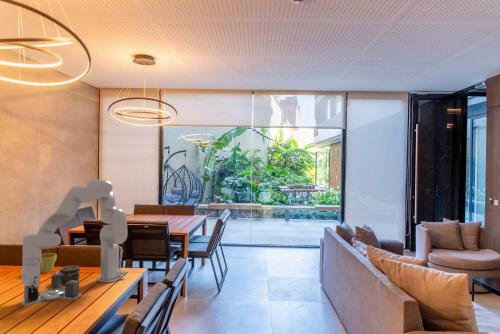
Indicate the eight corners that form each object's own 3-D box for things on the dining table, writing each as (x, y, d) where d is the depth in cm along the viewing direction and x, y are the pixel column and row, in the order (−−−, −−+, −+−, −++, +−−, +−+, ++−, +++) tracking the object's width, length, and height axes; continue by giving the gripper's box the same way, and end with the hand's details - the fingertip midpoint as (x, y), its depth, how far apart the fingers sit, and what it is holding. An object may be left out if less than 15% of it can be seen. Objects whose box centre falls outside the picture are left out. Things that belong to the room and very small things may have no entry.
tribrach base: (84, 283, 180) (84, 278, 180) (80, 299, 159) (80, 293, 159) (29, 289, 170) (29, 284, 170) (18, 307, 149) (18, 301, 149)
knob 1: (34, 297, 157) (34, 283, 157) (38, 299, 155) (38, 285, 155) (23, 300, 154) (23, 285, 154) (27, 302, 151) (27, 288, 151)
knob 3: (64, 296, 159) (65, 282, 159) (70, 292, 164) (71, 279, 164) (73, 296, 159) (73, 282, 159) (79, 293, 163) (79, 279, 163)
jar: (76, 283, 179) (76, 270, 179) (56, 285, 177) (57, 271, 177) (81, 277, 189) (81, 264, 189) (62, 278, 186) (62, 265, 186)
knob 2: (60, 287, 170) (61, 274, 170) (51, 288, 169) (51, 275, 169) (62, 284, 175) (62, 271, 175) (52, 285, 173) (52, 272, 173)
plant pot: (49, 274, 193) (49, 258, 193) (32, 273, 194) (33, 257, 194) (59, 268, 204) (60, 253, 204) (43, 268, 204) (44, 252, 204)
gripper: (16, 258, 156) (15, 295, 156) (30, 266, 146) (29, 305, 146) (33, 255, 162) (32, 290, 162) (48, 262, 152) (47, 300, 152)
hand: (31, 297), depth 154 cm, fingers open, 6 cm apart
